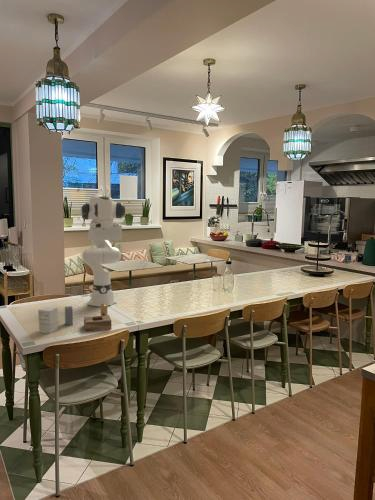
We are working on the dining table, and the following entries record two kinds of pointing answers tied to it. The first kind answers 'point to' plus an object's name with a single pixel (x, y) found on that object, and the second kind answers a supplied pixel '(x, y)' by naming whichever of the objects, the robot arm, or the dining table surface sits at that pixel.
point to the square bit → (68, 316)
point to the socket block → (97, 323)
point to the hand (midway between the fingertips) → (105, 247)
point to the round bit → (103, 309)
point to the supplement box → (48, 319)
